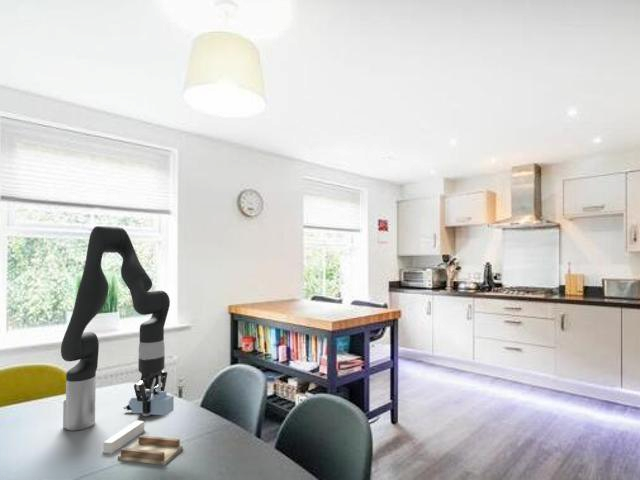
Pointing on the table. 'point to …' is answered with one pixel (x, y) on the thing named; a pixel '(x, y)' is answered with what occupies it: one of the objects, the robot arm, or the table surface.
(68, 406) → the robot arm
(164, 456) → the jig
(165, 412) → the light blue stepped block
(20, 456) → the table surface
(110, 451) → the white rectangular bar
